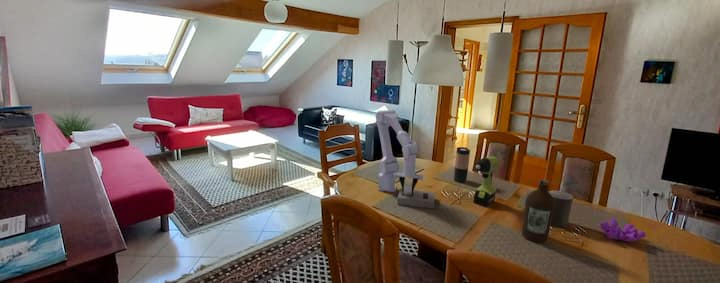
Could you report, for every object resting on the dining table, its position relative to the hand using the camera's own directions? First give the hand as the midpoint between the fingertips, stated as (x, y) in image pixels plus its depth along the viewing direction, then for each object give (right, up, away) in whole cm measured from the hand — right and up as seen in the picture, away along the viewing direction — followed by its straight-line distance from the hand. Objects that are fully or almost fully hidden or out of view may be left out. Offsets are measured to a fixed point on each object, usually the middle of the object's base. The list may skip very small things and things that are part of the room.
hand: (407, 191), depth 163 cm
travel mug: (+36, +2, +29) cm, 46 cm away
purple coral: (+84, -15, -30) cm, 91 cm away
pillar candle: (+64, -11, -18) cm, 68 cm away
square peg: (0, -3, +1) cm, 3 cm away
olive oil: (+48, -14, -30) cm, 59 cm away
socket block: (+4, -5, 0) cm, 7 cm away
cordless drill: (+37, -7, -2) cm, 37 cm away
